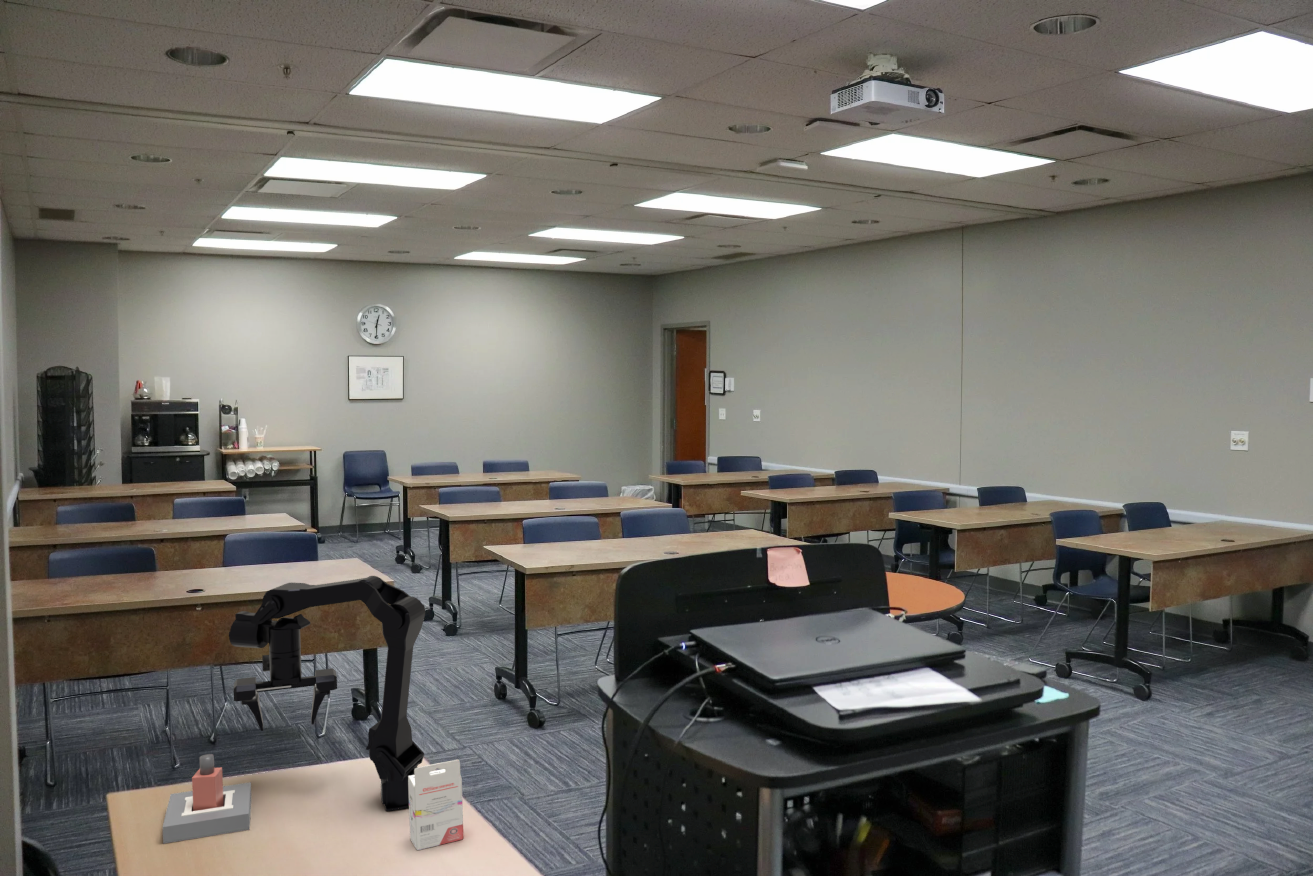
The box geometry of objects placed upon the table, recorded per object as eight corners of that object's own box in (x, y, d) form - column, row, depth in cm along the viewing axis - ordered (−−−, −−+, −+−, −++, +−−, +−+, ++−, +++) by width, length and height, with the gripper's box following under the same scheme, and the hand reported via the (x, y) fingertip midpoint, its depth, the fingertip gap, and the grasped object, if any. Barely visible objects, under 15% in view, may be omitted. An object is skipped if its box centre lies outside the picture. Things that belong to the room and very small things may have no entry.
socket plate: (251, 797, 189) (250, 781, 188) (249, 829, 176) (248, 812, 175) (171, 809, 184) (170, 793, 183) (163, 843, 171) (162, 826, 170)
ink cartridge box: (456, 828, 176) (454, 749, 175) (464, 840, 172) (462, 759, 170) (408, 839, 172) (406, 758, 171) (415, 851, 168) (413, 769, 167)
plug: (223, 814, 182) (221, 751, 181) (216, 824, 178) (214, 760, 177) (201, 815, 181) (198, 753, 180) (194, 825, 177) (191, 761, 176)
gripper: (333, 633, 200) (335, 707, 201) (234, 643, 193) (237, 719, 194) (336, 648, 189) (338, 726, 191) (232, 659, 183) (235, 739, 184)
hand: (287, 727), depth 190 cm, fingers open, 9 cm apart
